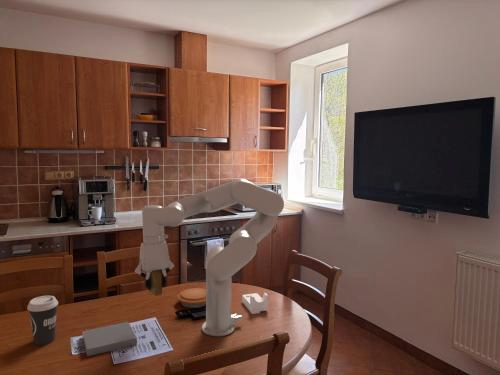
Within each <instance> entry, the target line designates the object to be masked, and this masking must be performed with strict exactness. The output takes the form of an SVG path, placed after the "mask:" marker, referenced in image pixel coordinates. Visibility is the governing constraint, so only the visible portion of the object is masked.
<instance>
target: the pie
mask: <svg viewBox="0 0 500 375" xmlns="http://www.w3.org/2000/svg"><path fill="white" fill-rule="evenodd" d="M176 297H177V299H178V300H179V302H180V304H181V305H182V306H183V307H186V308H189V309H199V308H202V307H204V306H205V307H206V288H201V287H193V288H192V287H191V288H187V289H184V290H183V291H182V290H181V292H179V293H178V294H177V296H176Z"/></svg>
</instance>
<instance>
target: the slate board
mask: <svg viewBox="0 0 500 375" xmlns="http://www.w3.org/2000/svg"><path fill="white" fill-rule="evenodd" d="M82 340H83V345H84V348H85V351H86V357H91V356H95V355H99V354H103V353H107V352H111V351H115V350H119V349H123V348H128V347H132V346H136V345H138V338H137V335H136V334H135V332H134V330H133V328H132V327H131V324H130V323H129V321H125V322H120V323H115V324H109V325H105V326H100V327H96V328H90V329H86V330H82Z"/></svg>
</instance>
